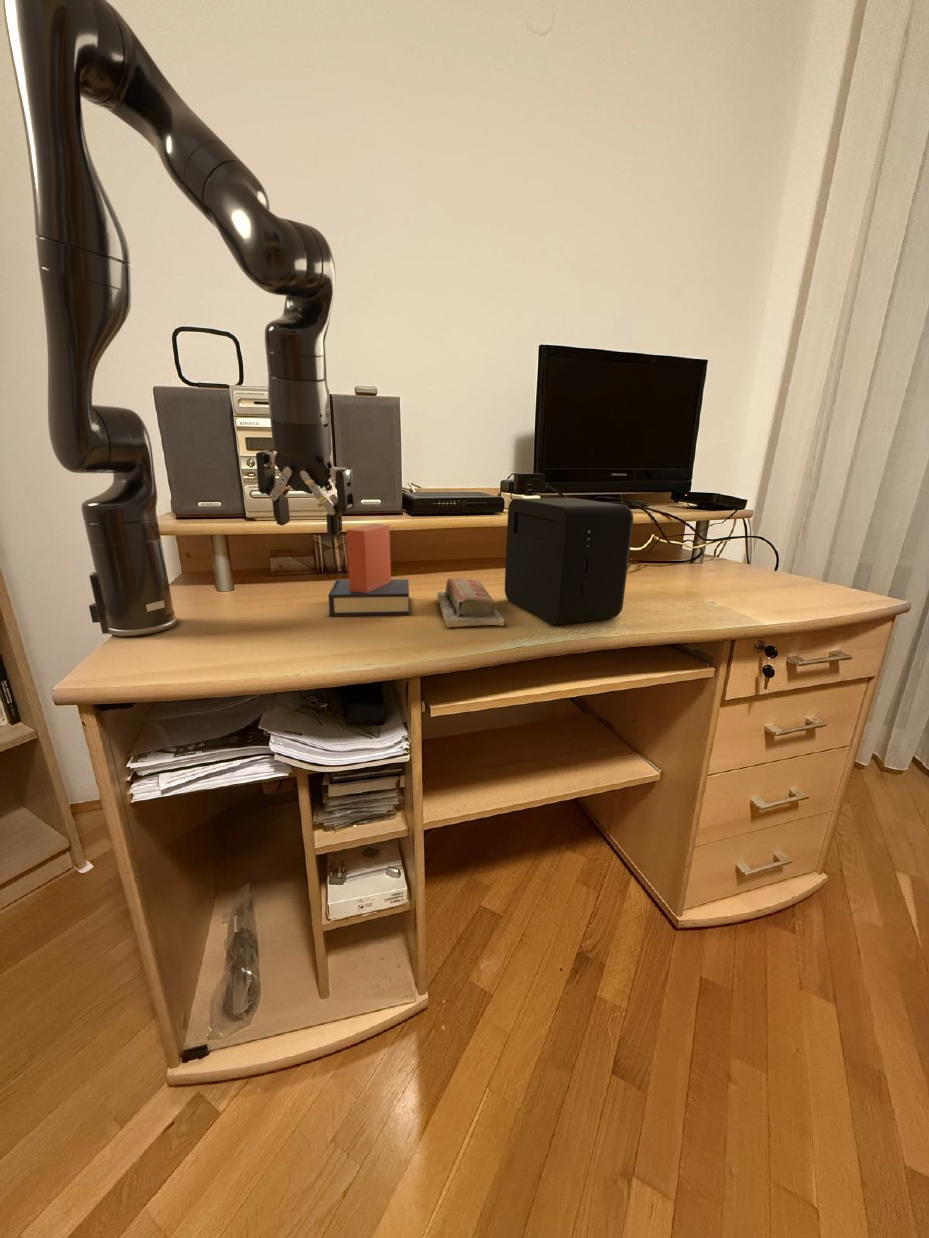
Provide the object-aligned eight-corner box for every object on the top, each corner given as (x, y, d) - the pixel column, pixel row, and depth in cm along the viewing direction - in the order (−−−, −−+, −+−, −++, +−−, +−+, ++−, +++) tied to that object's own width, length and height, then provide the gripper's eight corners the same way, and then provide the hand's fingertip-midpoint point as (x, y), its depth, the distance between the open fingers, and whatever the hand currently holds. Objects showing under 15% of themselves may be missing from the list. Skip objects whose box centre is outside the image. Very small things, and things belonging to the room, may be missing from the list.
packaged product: (436, 576, 97) (486, 575, 98) (436, 599, 98) (485, 598, 100) (446, 601, 80) (506, 599, 81) (446, 629, 81) (504, 627, 83)
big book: (329, 616, 87) (328, 594, 85) (337, 599, 97) (336, 579, 96) (409, 615, 88) (408, 593, 87) (408, 598, 99) (408, 579, 97)
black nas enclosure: (628, 620, 87) (642, 506, 81) (558, 629, 82) (568, 507, 76) (564, 592, 105) (572, 496, 99) (503, 598, 100) (508, 497, 93)
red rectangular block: (366, 593, 86) (363, 531, 83) (349, 591, 88) (346, 529, 84) (391, 582, 95) (389, 524, 91) (375, 580, 96) (373, 523, 92)
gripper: (234, 409, 62) (250, 528, 71) (333, 429, 59) (337, 550, 68) (272, 401, 68) (283, 512, 77) (363, 419, 65) (363, 532, 74)
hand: (308, 530), depth 73 cm, fingers open, 8 cm apart
